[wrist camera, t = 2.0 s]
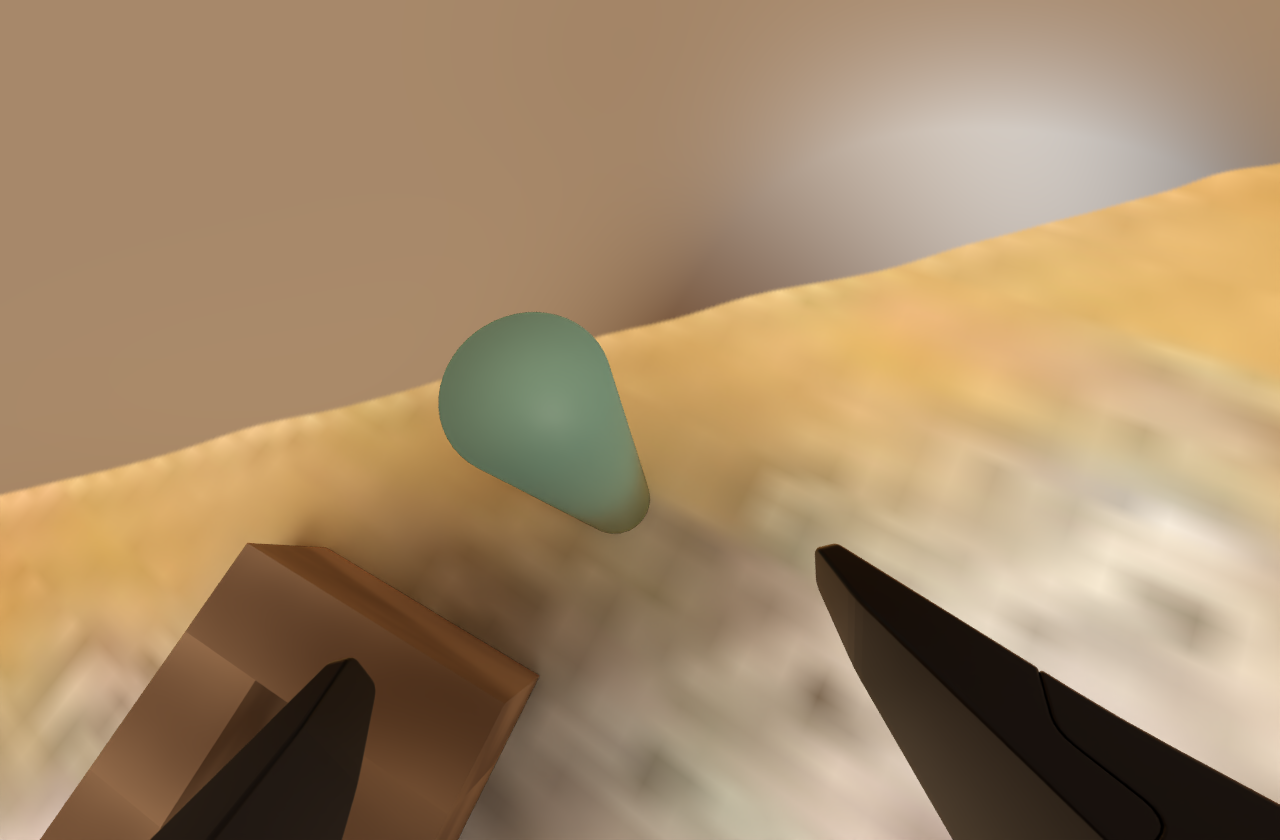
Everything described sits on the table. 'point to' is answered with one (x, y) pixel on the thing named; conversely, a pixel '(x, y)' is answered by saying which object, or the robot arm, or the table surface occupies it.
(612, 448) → the peg
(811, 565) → the table surface
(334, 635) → the hole block
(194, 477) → the table surface
